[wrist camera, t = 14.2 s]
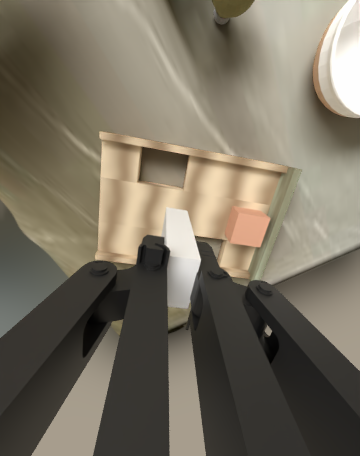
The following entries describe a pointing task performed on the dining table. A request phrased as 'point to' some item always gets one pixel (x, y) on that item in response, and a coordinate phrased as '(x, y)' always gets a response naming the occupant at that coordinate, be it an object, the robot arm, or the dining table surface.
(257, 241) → the block
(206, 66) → the dining table surface
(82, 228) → the dining table surface
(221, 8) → the light bulb
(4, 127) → the dining table surface
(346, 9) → the bowl
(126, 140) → the box
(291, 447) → the robot arm
